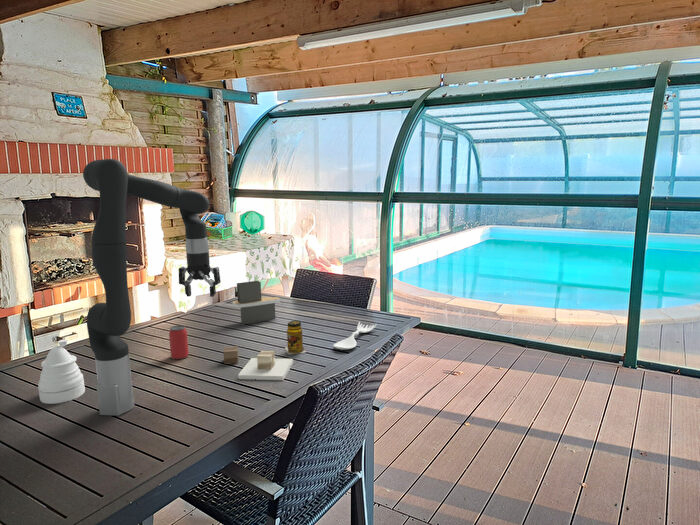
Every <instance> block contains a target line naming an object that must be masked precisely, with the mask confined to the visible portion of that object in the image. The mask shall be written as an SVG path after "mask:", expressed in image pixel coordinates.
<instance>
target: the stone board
mask: <svg viewBox="0 0 700 525" xmlns="http://www.w3.org/2000/svg"><path fill="white" fill-rule="evenodd" d="M293 364H294V359H293V358H276V357H275V365H274V366H273V368H272V369H271V370H269V369H258V365H257V357H251V358H250V359H249V361H248V362H247V363H246V364H245V366H244V367H243V368H242V370H240V372H239V373H238V374H237V379H238V380H255V379H256V380H259V381H284V379H285V378H286V376H287V375H288V373H289V371H290V369H291V367H292V365H293Z"/></svg>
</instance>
